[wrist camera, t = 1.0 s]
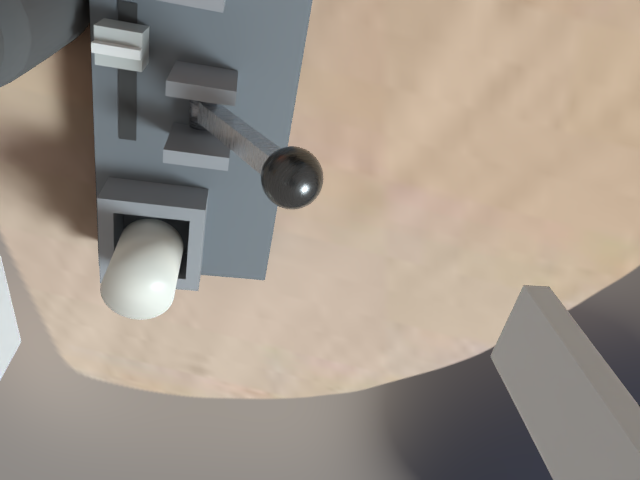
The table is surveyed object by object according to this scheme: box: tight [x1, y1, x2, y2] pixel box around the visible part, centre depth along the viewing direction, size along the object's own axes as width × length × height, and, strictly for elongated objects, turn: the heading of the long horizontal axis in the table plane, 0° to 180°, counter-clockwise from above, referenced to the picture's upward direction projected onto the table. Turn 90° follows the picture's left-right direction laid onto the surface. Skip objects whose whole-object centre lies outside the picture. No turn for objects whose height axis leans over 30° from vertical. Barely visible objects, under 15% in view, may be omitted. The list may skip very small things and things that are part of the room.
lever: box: [189, 100, 323, 209], centre depth 27 cm, size 3×3×12 cm
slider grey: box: [91, 18, 149, 72], centre depth 27 cm, size 2×2×3 cm
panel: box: [89, 0, 312, 291], centre depth 31 cm, size 25×12×7 cm, turn 169°
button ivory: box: [100, 219, 183, 320], centre depth 31 cm, size 4×4×5 cm
